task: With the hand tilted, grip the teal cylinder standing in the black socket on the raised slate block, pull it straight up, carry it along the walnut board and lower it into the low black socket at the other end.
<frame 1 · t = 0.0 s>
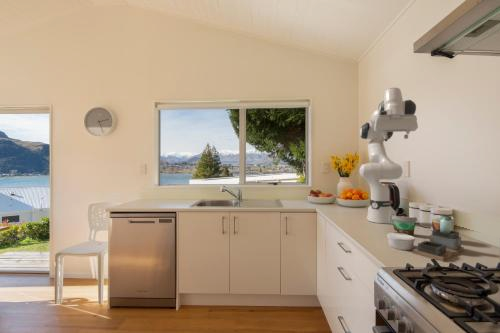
hand: (396, 138, 132), 52 cm above the counter, tool tilted 20°, fingers open, 8 cm apart
dock station: (438, 251, 112), on the counter
teal cylinder: (445, 235, 116), point 6 cm above the counter, touching dock station
ramekin: (400, 247, 119), on the counter
food container: (405, 235, 138), on the counter
coffee cup: (442, 240, 129), on the counter
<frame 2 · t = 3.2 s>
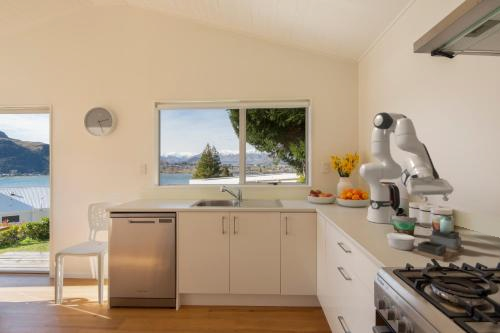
hand: (436, 200, 125), 21 cm above the counter, tool tilted 45°, fingers open, 8 cm apart
nothing on the counter moved.
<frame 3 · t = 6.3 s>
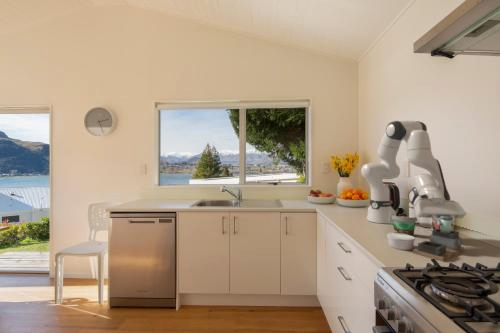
hand: (446, 225, 115), 11 cm above the counter, tool tilted 45°, fingers closed on teal cylinder, 4 cm apart
teal cylinder: (445, 235, 116), point 6 cm above the counter, touching dock station, gripper
everything else where it was.
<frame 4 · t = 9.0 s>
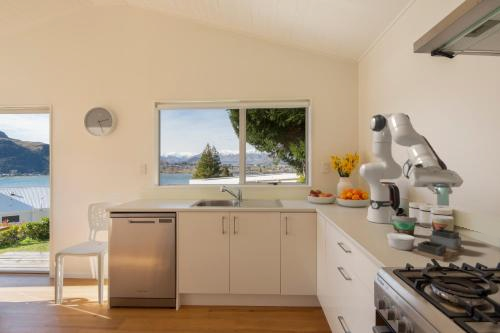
hand: (443, 193, 107), 27 cm above the counter, tool tilted 45°, fingers closed on teal cylinder, 4 cm apart
teal cylinder: (443, 205, 108), point 21 cm above the counter, touching gripper
everything else where it was.
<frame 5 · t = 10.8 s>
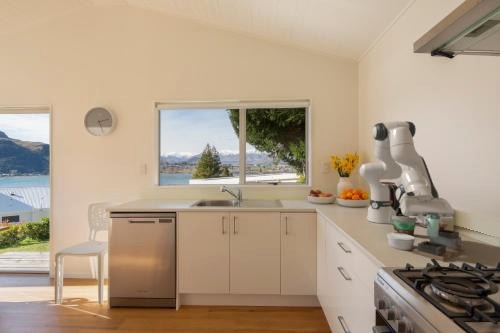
hand: (433, 224, 107), 13 cm above the counter, tool tilted 45°, fingers closed on teal cylinder, 4 cm apart
teal cylinder: (432, 235, 108), point 8 cm above the counter, touching gripper
everything else where it was.
when the fingers open (8 cm above the counter, at t = 12.1 s): teal cylinder drops 2 cm, resting on dock station.
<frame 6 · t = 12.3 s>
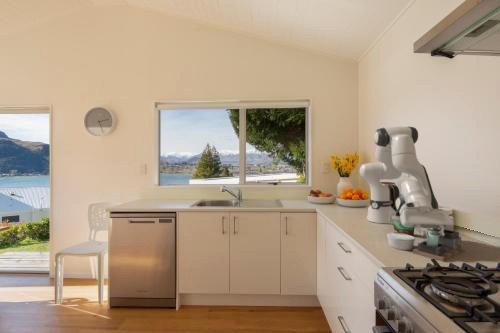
hand: (433, 235, 108), 8 cm above the counter, tool tilted 45°, fingers open, 6 cm apart
teal cylinder: (431, 251, 108), point 2 cm above the counter, touching dock station
everything else where it was.
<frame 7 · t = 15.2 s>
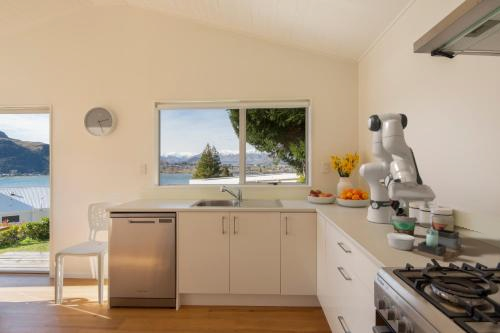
hand: (416, 207, 120), 18 cm above the counter, tool tilted 45°, fingers open, 8 cm apart
nothing on the counter moved.
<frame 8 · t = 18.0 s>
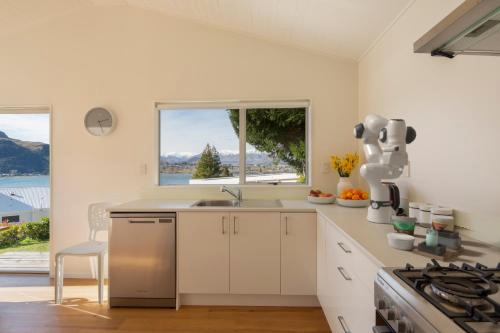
hand: (395, 174, 137), 33 cm above the counter, tool pointing down, fingers open, 8 cm apart
nothing on the counter moved.
at the end: teal cylinder 0.1 cm from the target spot on the dock station, point 1.5 cm above the dock station's base; teal cylinder tilted 1°; the gripper is holding nothing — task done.
